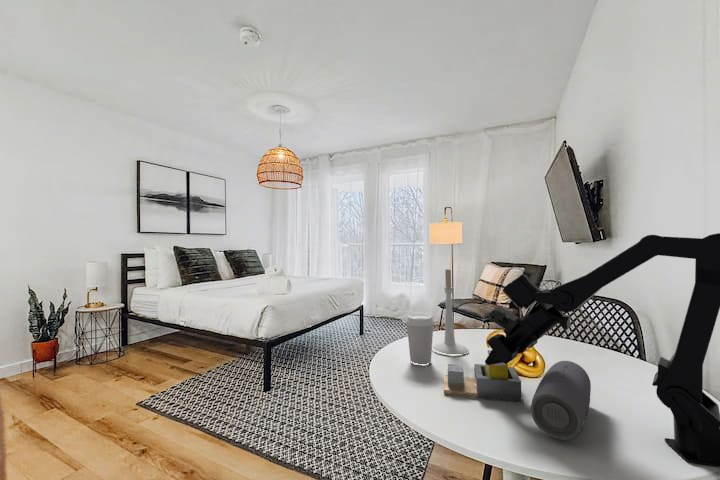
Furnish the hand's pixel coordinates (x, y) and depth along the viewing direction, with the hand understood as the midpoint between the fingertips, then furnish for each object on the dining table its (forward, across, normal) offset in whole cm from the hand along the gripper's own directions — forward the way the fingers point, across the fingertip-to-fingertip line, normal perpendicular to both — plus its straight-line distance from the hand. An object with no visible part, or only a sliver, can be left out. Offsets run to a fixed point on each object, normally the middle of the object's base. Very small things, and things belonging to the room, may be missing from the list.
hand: (491, 360), depth 83 cm
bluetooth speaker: (-6, +3, +18) cm, 19 cm away
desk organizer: (+7, +2, +4) cm, 8 cm away
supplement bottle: (+4, 0, +6) cm, 7 cm away
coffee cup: (+23, -4, -12) cm, 27 cm away
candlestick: (+23, -22, -12) cm, 34 cm away
